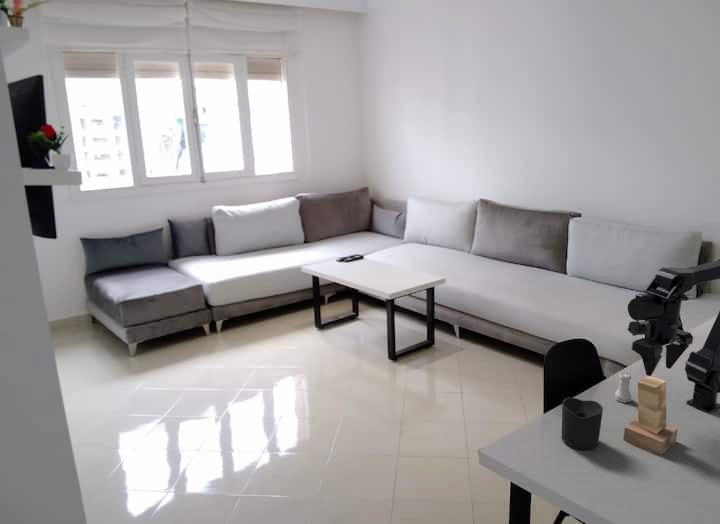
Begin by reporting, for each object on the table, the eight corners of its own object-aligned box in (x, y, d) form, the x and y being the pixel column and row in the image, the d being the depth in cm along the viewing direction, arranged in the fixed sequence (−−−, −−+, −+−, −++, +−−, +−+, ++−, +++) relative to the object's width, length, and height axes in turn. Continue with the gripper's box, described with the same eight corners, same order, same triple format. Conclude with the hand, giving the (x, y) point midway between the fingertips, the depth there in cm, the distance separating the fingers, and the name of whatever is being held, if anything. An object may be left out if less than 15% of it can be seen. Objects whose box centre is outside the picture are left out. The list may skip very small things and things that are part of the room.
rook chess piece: (633, 403, 156) (635, 378, 154) (616, 402, 156) (618, 377, 154) (628, 396, 160) (631, 371, 158) (612, 395, 161) (614, 370, 159)
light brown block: (639, 428, 144) (640, 414, 143) (675, 442, 137) (677, 428, 136) (623, 441, 138) (624, 427, 137) (660, 457, 132) (662, 442, 131)
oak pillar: (648, 420, 140) (648, 375, 137) (666, 426, 136) (666, 381, 133) (638, 427, 137) (637, 381, 134) (656, 433, 134) (655, 387, 131)
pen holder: (580, 456, 132) (583, 419, 130) (551, 437, 140) (554, 402, 138) (608, 445, 136) (611, 409, 134) (578, 427, 144) (581, 393, 142)
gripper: (656, 302, 153) (649, 354, 157) (616, 314, 144) (609, 368, 148) (697, 314, 144) (689, 368, 148) (657, 326, 135) (649, 384, 138)
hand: (658, 371), depth 146 cm, fingers open, 9 cm apart
